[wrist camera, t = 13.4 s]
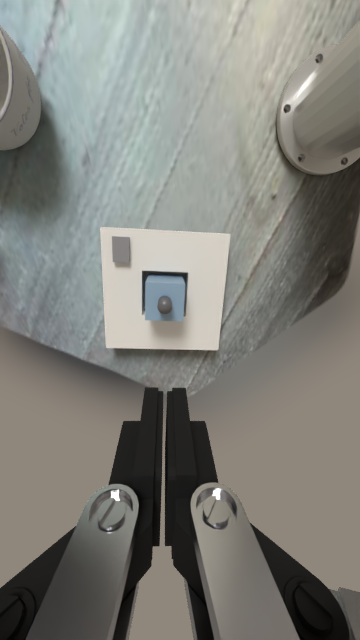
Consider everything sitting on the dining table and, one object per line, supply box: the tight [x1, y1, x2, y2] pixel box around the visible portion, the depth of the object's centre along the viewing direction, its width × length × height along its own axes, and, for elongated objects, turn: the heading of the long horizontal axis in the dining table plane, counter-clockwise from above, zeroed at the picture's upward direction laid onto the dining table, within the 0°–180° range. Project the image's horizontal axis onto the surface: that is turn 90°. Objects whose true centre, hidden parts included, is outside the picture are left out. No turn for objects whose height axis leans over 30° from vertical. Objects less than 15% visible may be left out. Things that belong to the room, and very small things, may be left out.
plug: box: [145, 274, 185, 321], centre depth 31 cm, size 4×4×9 cm
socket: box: [100, 227, 231, 350], centre depth 34 cm, size 16×16×4 cm
